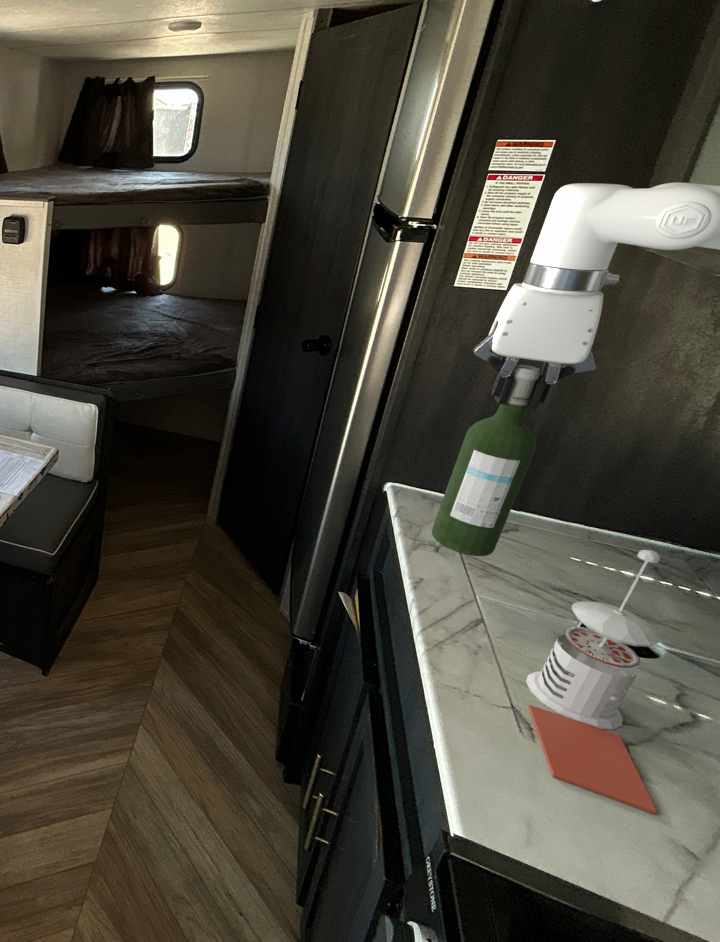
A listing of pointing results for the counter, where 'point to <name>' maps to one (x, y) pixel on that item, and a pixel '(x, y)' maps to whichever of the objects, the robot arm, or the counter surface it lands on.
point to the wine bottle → (488, 473)
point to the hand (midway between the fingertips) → (514, 402)
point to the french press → (594, 661)
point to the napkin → (590, 758)
